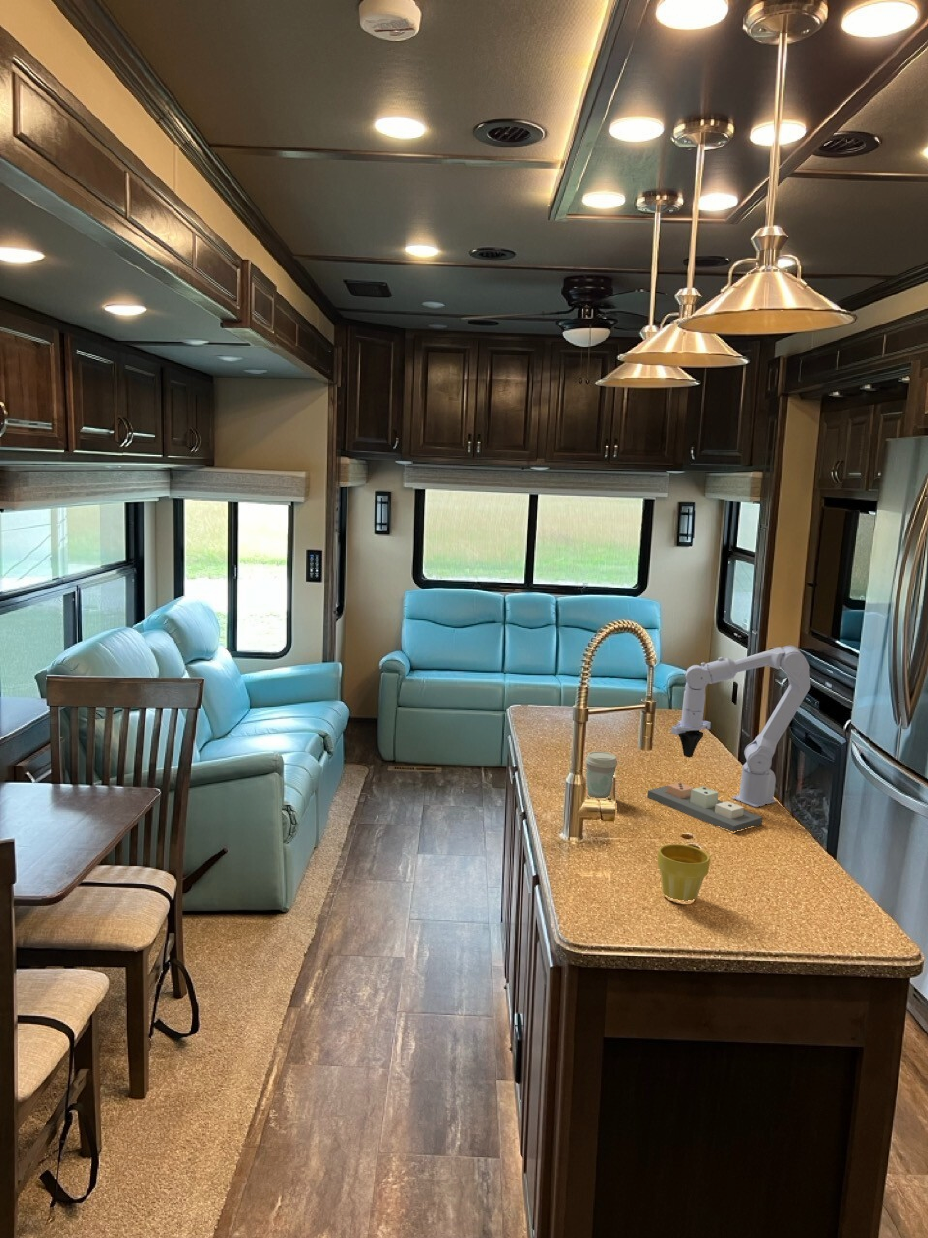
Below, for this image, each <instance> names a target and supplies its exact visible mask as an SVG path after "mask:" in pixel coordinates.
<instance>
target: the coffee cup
mask: <svg viewBox="0 0 928 1238" xmlns="http://www.w3.org/2000/svg"><path fill="white" fill-rule="evenodd" d="M585 763H586V765H585V767H586V769H585V770H586V789H587V788H588V795H589V796H590V797H595V798H606V797H608V796H609V797H610V796H611V791H612V787H613V782H612V778H613V775H614V776H615V773H616V768H617V766H618V760H617V756H616V755H615V754H613V753H611V752H605V751H597V750H596V751H590V752H588V754H587V756H586V758H585ZM613 779H614V778H613Z"/></svg>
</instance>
